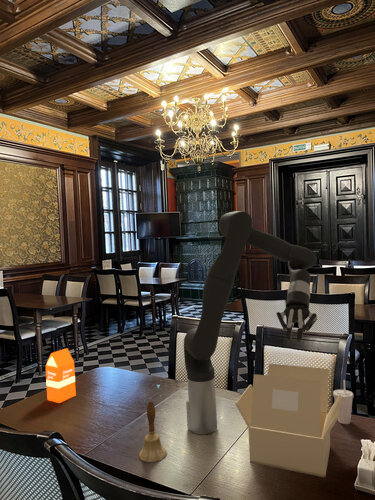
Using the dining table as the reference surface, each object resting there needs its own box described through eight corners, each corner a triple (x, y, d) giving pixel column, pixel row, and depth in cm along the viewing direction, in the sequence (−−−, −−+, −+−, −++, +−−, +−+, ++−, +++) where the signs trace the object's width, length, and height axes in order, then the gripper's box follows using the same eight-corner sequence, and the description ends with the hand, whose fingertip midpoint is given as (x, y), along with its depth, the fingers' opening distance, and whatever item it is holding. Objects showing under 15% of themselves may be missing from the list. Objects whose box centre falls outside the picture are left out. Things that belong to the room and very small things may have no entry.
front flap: (250, 426, 106) (250, 426, 106) (254, 374, 112) (253, 374, 111) (320, 437, 99) (319, 437, 98) (320, 381, 104) (320, 380, 103)
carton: (237, 459, 109) (233, 389, 108) (260, 419, 132) (257, 362, 132) (340, 480, 97) (337, 402, 97) (345, 432, 121) (342, 369, 120)
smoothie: (356, 426, 124) (354, 383, 124) (335, 425, 126) (334, 383, 125) (352, 417, 131) (350, 377, 130) (332, 416, 132) (330, 376, 132)
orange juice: (47, 399, 159) (44, 352, 159) (63, 392, 167) (61, 347, 167) (59, 403, 155) (57, 354, 155) (76, 395, 163) (73, 348, 163)
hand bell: (139, 448, 117) (136, 397, 117) (166, 446, 118) (163, 395, 118) (138, 464, 109) (135, 408, 109) (167, 461, 110) (164, 406, 109)
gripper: (276, 289, 133) (270, 332, 122) (318, 290, 127) (315, 335, 116) (280, 302, 138) (274, 345, 127) (320, 303, 132) (318, 348, 121)
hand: (294, 340), depth 121 cm, fingers closed
